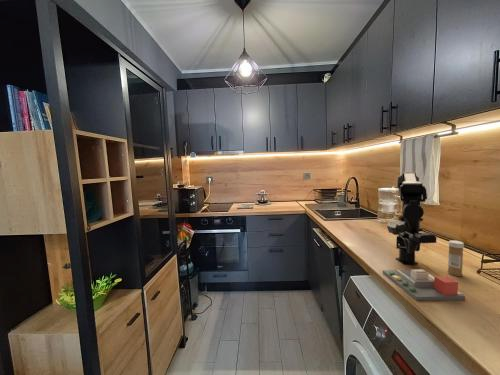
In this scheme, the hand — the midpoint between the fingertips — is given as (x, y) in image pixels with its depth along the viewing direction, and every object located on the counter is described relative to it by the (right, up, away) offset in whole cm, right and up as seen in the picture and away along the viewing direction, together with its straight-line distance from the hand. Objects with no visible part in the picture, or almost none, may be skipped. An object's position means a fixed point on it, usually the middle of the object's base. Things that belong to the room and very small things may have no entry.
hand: (409, 253), depth 91 cm
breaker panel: (0, -10, -5) cm, 11 cm away
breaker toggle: (0, -9, -5) cm, 10 cm away
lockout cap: (+4, -10, -12) cm, 16 cm away
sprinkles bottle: (+20, -9, +3) cm, 22 cm away
